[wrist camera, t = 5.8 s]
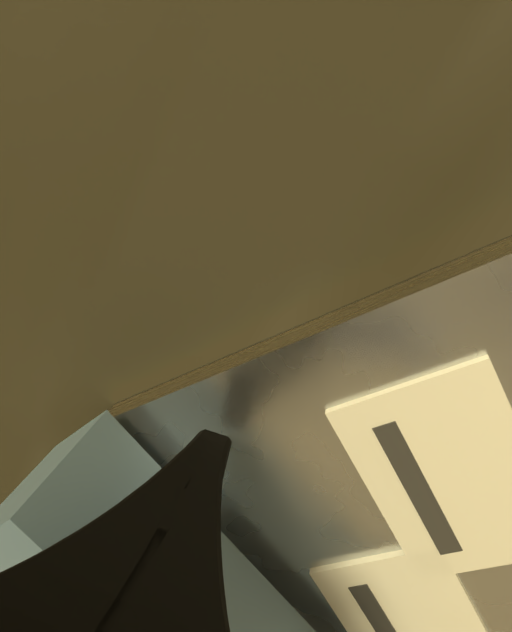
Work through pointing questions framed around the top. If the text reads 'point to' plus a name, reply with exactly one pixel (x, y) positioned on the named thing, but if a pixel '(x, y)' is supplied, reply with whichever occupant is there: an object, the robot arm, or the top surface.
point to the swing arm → (105, 492)
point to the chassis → (317, 432)
